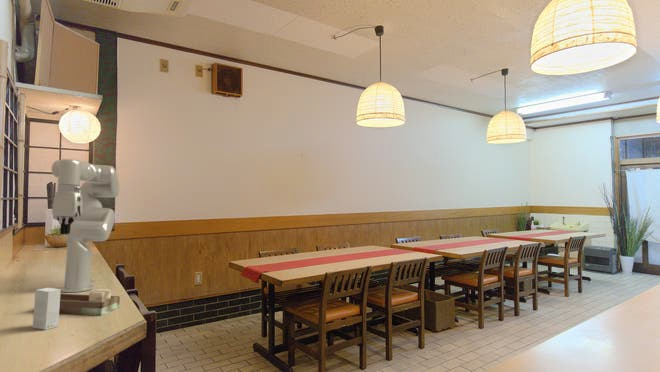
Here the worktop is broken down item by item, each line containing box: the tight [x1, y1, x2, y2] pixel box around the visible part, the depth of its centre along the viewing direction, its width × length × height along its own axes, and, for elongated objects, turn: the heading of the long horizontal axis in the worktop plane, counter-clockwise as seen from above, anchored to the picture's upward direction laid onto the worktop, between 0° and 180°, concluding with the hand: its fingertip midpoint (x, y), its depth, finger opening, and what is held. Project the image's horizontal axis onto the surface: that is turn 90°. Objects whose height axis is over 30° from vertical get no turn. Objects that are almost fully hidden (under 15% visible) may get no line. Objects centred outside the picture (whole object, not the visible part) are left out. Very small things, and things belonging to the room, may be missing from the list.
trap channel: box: [59, 292, 121, 317], centre depth 141 cm, size 10×25×4 cm, turn 87°
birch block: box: [88, 288, 112, 302], centre depth 141 cm, size 5×5×5 cm
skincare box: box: [32, 287, 62, 331], centre depth 121 cm, size 6×4×12 cm
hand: (65, 233), depth 155 cm, fingers closed
